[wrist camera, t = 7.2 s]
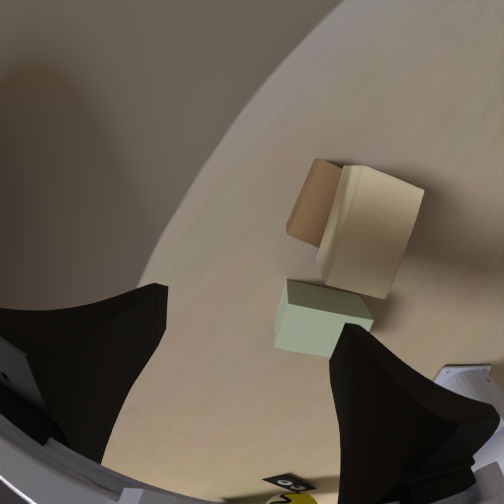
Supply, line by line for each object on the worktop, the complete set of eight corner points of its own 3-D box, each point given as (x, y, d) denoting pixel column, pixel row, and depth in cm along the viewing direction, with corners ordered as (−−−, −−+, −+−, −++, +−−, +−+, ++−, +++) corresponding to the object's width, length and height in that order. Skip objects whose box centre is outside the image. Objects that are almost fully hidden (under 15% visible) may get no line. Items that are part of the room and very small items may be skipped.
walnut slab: (396, 201, 18) (414, 208, 16) (368, 261, 20) (381, 275, 17) (313, 159, 18) (320, 158, 15) (285, 224, 20) (287, 234, 17)
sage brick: (359, 294, 21) (374, 320, 17) (344, 331, 22) (354, 360, 18) (286, 278, 21) (288, 303, 17) (275, 317, 22) (273, 347, 18)
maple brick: (343, 165, 15) (364, 165, 11) (394, 184, 15) (424, 190, 11) (315, 258, 17) (325, 284, 13) (364, 272, 17) (385, 299, 13)
